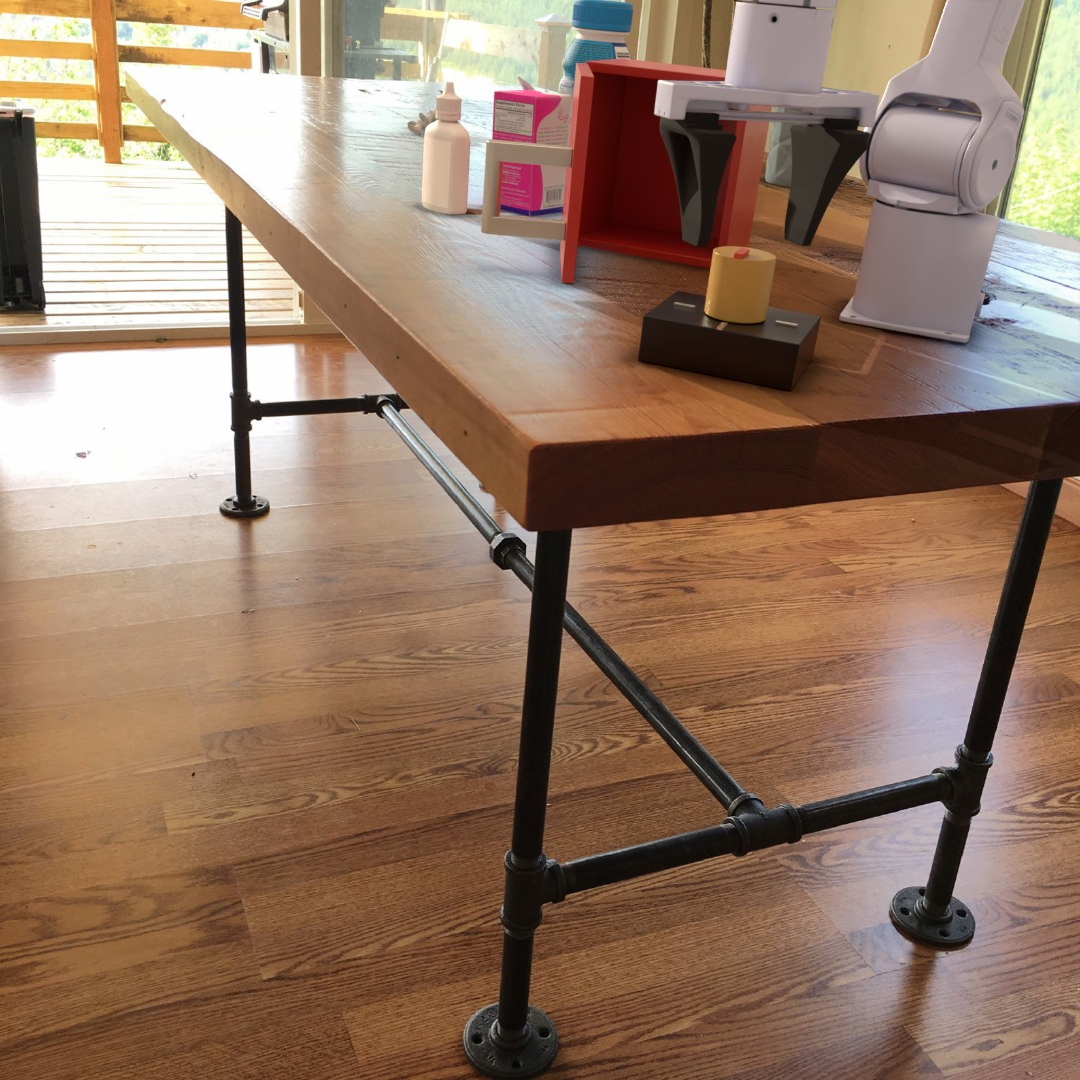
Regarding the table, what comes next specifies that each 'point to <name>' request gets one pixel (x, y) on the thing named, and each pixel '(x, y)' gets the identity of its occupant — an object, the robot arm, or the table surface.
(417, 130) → the soldier figure
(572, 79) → the beverage bottle
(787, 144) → the grey green vase
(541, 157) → the red door with handle
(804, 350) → the panel
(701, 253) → the cabinet
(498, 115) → the supplement box
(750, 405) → the table surface
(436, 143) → the eye dropper bottle
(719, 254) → the knob
